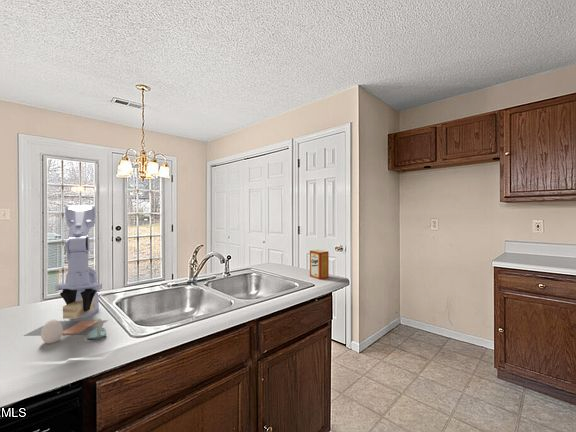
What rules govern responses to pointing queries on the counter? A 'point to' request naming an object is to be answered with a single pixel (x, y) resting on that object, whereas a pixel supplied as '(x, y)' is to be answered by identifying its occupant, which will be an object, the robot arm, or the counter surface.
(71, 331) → the terracotta strip
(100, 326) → the pacifier
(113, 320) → the counter surface
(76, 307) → the tan wooden block
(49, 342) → the egg
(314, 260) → the baking soda box
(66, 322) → the rubber mat
